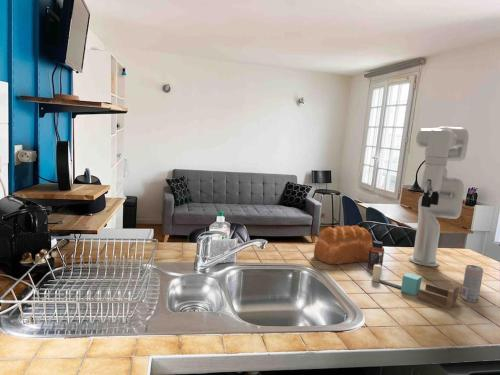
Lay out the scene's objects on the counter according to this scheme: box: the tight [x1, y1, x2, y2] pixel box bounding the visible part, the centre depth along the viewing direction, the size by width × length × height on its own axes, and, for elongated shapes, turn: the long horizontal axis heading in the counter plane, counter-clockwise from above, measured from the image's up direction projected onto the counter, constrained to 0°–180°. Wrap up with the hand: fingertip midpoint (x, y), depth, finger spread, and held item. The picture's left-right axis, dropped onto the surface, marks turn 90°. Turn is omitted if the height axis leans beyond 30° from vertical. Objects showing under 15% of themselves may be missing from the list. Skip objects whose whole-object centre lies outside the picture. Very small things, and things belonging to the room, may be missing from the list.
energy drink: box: [460, 264, 484, 303], centre depth 134 cm, size 5×5×12 cm
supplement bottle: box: [367, 240, 385, 270], centre depth 161 cm, size 6×6×11 cm
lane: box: [417, 282, 460, 310], centre depth 131 cm, size 9×10×6 cm
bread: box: [313, 224, 373, 265], centre depth 169 cm, size 14×26×16 cm, turn 116°
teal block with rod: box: [371, 265, 423, 297], centre depth 141 cm, size 17×5×6 cm, turn 49°
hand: (429, 205), depth 146 cm, fingers open, 9 cm apart
